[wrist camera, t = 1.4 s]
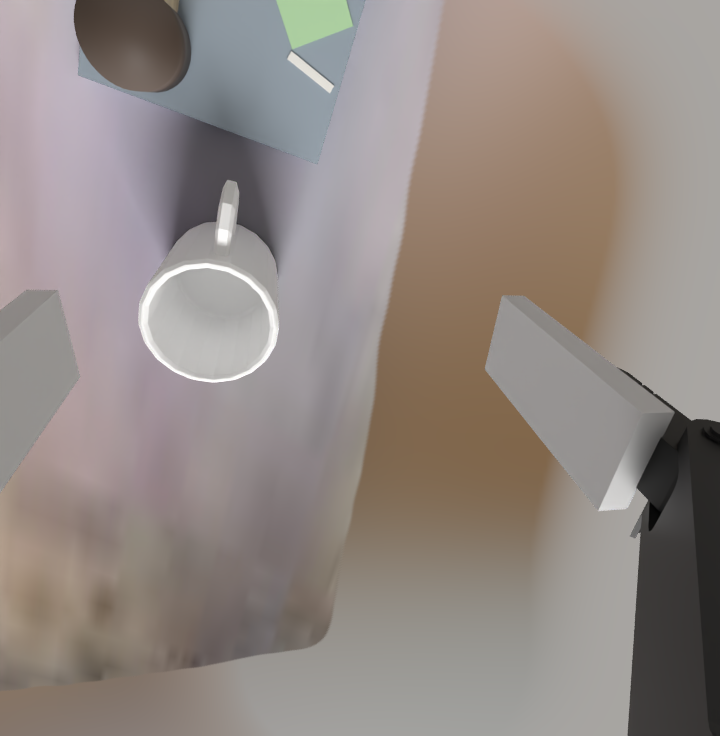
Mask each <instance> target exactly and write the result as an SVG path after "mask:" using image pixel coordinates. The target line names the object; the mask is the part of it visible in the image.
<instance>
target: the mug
mask: <svg viewBox="0 0 720 736" xmlns="http://www.w3.org/2000/svg"><path fill="white" fill-rule="evenodd" d="M238 205H239V190H238V186H237V182H235V181H231V180H227V181H226V183H225V185H224V187H223V189H222V194H221V198H220V203H219V208H218V215H217V222H206V223H203V224H200V225H198V226H196V227H194V228H191V229H189V230H188V231H187V232H186V233H185V234H184V235H183V236H182V237H181V238H180V239H179V240H178V241H177V242H176V243H175V245H174V246H173V248H172V249H171V251H170V252H169V254H168V255H167V257H166V258H165V260H164V261H163V263H162V264H161V266H160V267H159V268H158V270H157V271H156V273H155V274H154V276H153V277H152V279H151V280H150V282H149V283H148V285H147V287H146V289H145V291H144V294H143V296H142V298H141V300H140V302H139V318H138V324H139V327H140V330H141V333H142V336H143V339H144V342H145V343H146V345H147V346H148V348H149V349H150V350H151V352H152V353H153V354H154V356H155V357H156V359H158V360H159V361H160V362H162V363H163V364H164V365H165V366H167V367H168V368H169V369H171V370H172V371H173V372H176V373H178V374H180V375H183V376H185V377H188V378H190V379H193V380H199V381H206V382H222V381H230V380H235V379H238V378H240V377H242V376H245V375H247V374H249V373H252V372H253V371H254V370H255V369H257V368H258V367H259V366H260V365H261V364H263V363H264V362H265V361H266V360H267V358H268V357H269V355H270V353H271V352H272V350H273V348H274V347H275V345H276V341H277V336H278V331H279V301H278V275H277V268H276V261H275V259H274V257H273V255H272V253H271V251H270V249H269V247H268V246H267V245H266V244H265V243H264V242H263V241H262V240H261V239H260V238H259V237H258V235H257V234H255V233H253V232H252V231H250V230H248V229H246V228H245V227H243V226H241V225H238V224H236V222H237V213H238Z"/></svg>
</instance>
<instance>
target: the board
mask: <svg viewBox="0 0 720 736" xmlns="http://www.w3.org/2000/svg"><path fill="white" fill-rule="evenodd" d="M364 4H365V0H179V6H178V12H177V13H178V14H179V16H180V17H181V19H182V21H183V23H184V25H185V27H186V29H187V32H188V35H189V39H190V44H191V61H190V66H189V69H188V71H187V74H186V75H185V77H184V78H183V80H182V81H181V82H180V83H179V84H178V85H177V86H175V87H174V88H172V89H170V90H168V91H164V92H158V93H157V92H139V91H131V90H127V89H123V88H121V87H119V86H116V85H114V84H113V83H111V82H109V81H108V80H107V79H105V78H104V77H103V76H102V75H101V74H99V73H98V72H97V71H96V69H95V68H94V67H93V66H92V65H91V64H90V62H89V61H88V59H87V58H86V56H85V54H84V53H83V51H82V49H81V47H80V53H79V67H78V75H79V76H81V77H84V78H87V79H89V80H92V81H95V82H98V83H100V84H103V85H106V86H108V87H111V88H114V89H116V90H119V91H122V92H124V93H127V94H130V95H132V96H135V97H138V98H140V99H143V100H146V101H149V102H151V103H154V104H157V105H159V106H162V107H165V108H167V109H170V110H173V111H175V112H178V113H181V114H183V115H186V116H189V117H191V118H194V119H197V120H200V121H202V122H205V123H208V124H210V125H213V126H216V127H218V128H221V129H224V130H226V131H229V132H232V133H234V134H237V135H240V136H242V137H245V138H248V139H250V140H253V141H256V142H259V143H261V144H264V145H267V146H269V147H272V148H275V149H277V150H280V151H283V152H285V153H288V154H291V155H293V156H296V157H299V158H301V159H304V160H307V161H310V162H312V163H315V164H318V161H319V157H320V154H321V150H322V147H323V143H324V140H325V137H326V133H327V130H328V126H329V123H330V120H331V116H332V113H333V109H334V106H335V103H336V99H337V96H338V92H339V89H340V85H341V82H342V79H343V75H344V72H345V68H346V65H347V62H348V58H349V55H350V51H351V48H352V45H353V41H354V38H355V34H356V31H357V28H358V24H359V21H360V17H361V14H362V10H363V7H364Z"/></svg>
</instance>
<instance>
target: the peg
mask: <svg viewBox="0 0 720 736" xmlns="http://www.w3.org/2000/svg"><path fill="white" fill-rule="evenodd" d="M178 6H179V0H76V4H75V9H74V25H75V31H76V35H77V39H78V41H79V44H80V47H81V49H82V51H83V53H84V54H85V56H86V58H87V59H88V61H89V62H90V64H91V65H92V66H93V67H94V68H95V69H96V71H97V72H98V73H99V74H101V75H102V76H103V77H104V78H105V79H107V80H108V81H109V82H111V83H113V84H114V85H116V86H119V87H121V88H123V89H127V90H131V91H139V92H157V93H158V92H164V91H168V90H170V89H172V88H174V87H175V86H177V85H178V84H179V83H180V82H181V81H182V80H183V78H184V77H185V75H186V74H187V71H188V69H189V66H190V61H191V44H190V39H189V35H188V32H187V29H186V27H185V25H184V23H183V21H182V19H181V17H180V16H179V14H178V13H177V12H178Z"/></svg>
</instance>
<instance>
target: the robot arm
mask: <svg viewBox="0 0 720 736" xmlns="http://www.w3.org/2000/svg"><path fill="white" fill-rule="evenodd" d="M485 370H486V371H487V372H488V374H489V375H490V376H491V378H492V379H493V380H494V381H495V382H496V384H497V385H498V386H499V387H500V389H501V390H502V391H503V393H504V394H505V395H506V396H507V398H508V399H509V400H510V401H511V403H512V404H513V405H514V406H515V408H516V409H517V410H518V411H519V413H520V414H521V415H522V416H523V418H524V419H525V420H526V421H527V423H528V424H529V425H530V426H531V428H532V429H533V430H534V431H535V433H536V434H537V435H538V436H539V438H540V439H541V440H542V441H543V442H544V444H545V445H546V446H547V448H548V449H549V450H550V451H551V453H552V454H553V455H554V456H555V458H556V459H557V460H558V461H559V463H560V464H561V465H562V466H563V468H564V469H565V470H566V471H567V473H568V474H569V475H570V476H571V478H572V479H573V480H574V481H575V482H576V484H577V485H578V486H579V488H580V489H581V490H582V491H583V493H584V494H585V495H586V496H587V498H588V499H589V500H590V501H591V503H592V504H593V505H594V506H595V508H596V509H597V510H598V511H605V510H616V509H627V508H628V506H629V504H630V502H631V500H632V498H633V496H634V494H635V492H636V490H637V489H638V490H639V491H640V492H641V493H642V494H643V495H644V496H645V497H646V498H647V499H648V502H647V504H646V506H645V508H644V510H643V512H642V514H641V515H640V518H639V519H638V521H637V523H636V525H635V527H634V529H633V531H632V533H631V535H630V536H631V537H633V538H636V536H637V534H638V533H640V532H641V537H640V551H639V568H638V583H637V598H636V613H635V630H634V644H633V660H632V676H631V691H630V708H629V723H628V736H720V422H715V421H711V420H703V419H696V420H693V421H691V420H690V419H688V418H687V417H686V416H684V415H683V414H682V413H681V412H679V411H678V410H677V409H675V408H674V407H673V406H671V405H670V404H669V403H667V402H666V401H664V400H663V399H662V398H661V397H660V396H658V395H657V394H653V391H651V390H650V389H649V388H648V387H646V386H645V385H642V383H641V382H640V381H638V380H637V379H635V378H634V377H633V376H632V375H631V374H629V373H628V372H626V371H624V370H622V369H619V368H618V367H616V366H614V365H613V364H612V363H610V362H609V361H608V360H606V359H605V358H604V357H603V356H601V355H600V354H599V353H597V352H596V351H595V350H593V349H592V348H591V347H590V346H588V345H587V344H586V343H584V342H583V341H582V340H580V339H579V338H578V337H577V336H575V335H574V334H573V333H571V332H570V331H569V330H568V329H566V328H565V327H563V326H562V325H561V324H560V323H558V322H557V321H556V320H555V319H553V318H552V317H551V316H549V315H548V314H547V313H546V312H544V311H543V310H542V309H540V308H539V307H537V306H536V305H535V304H534V303H532V302H531V301H530V300H529V299H527V298H526V297H525V296H502V299H501V303H500V307H499V312H498V317H497V320H496V324H495V328H494V333H493V337H492V341H491V345H490V350H489V354H488V358H487V362H486V366H485ZM79 378H80V374H79V370H78V367H77V363H76V359H75V355H74V351H73V347H72V343H71V339H70V335H69V331H68V328H67V324H66V320H65V316H64V312H63V308H62V304H61V300H60V296H59V293H58V290H26V291H25V292H23V293H22V294H21V295H19V296H18V297H17V298H16V299H14V300H13V301H12V302H10V303H9V304H8V305H7V306H5V307H4V308H3V309H1V310H0V492H1V491H2V490H3V488H4V487H5V485H6V484H7V482H8V481H9V479H10V478H11V476H12V475H13V474H14V472H15V471H16V469H17V468H18V466H19V465H20V463H21V462H22V461H23V459H24V458H25V456H26V455H27V453H28V452H29V450H30V449H31V447H32V446H33V445H34V443H35V442H36V440H37V439H38V437H39V436H40V434H41V433H42V431H43V430H44V429H45V427H46V426H47V424H48V423H49V421H50V420H51V418H52V417H53V415H54V414H55V413H56V411H57V410H58V408H59V407H60V405H61V404H62V402H63V401H64V399H65V398H66V397H67V395H68V394H69V392H70V391H71V389H72V388H73V386H74V385H75V383H76V382H77V381H78V379H79Z"/></svg>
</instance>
